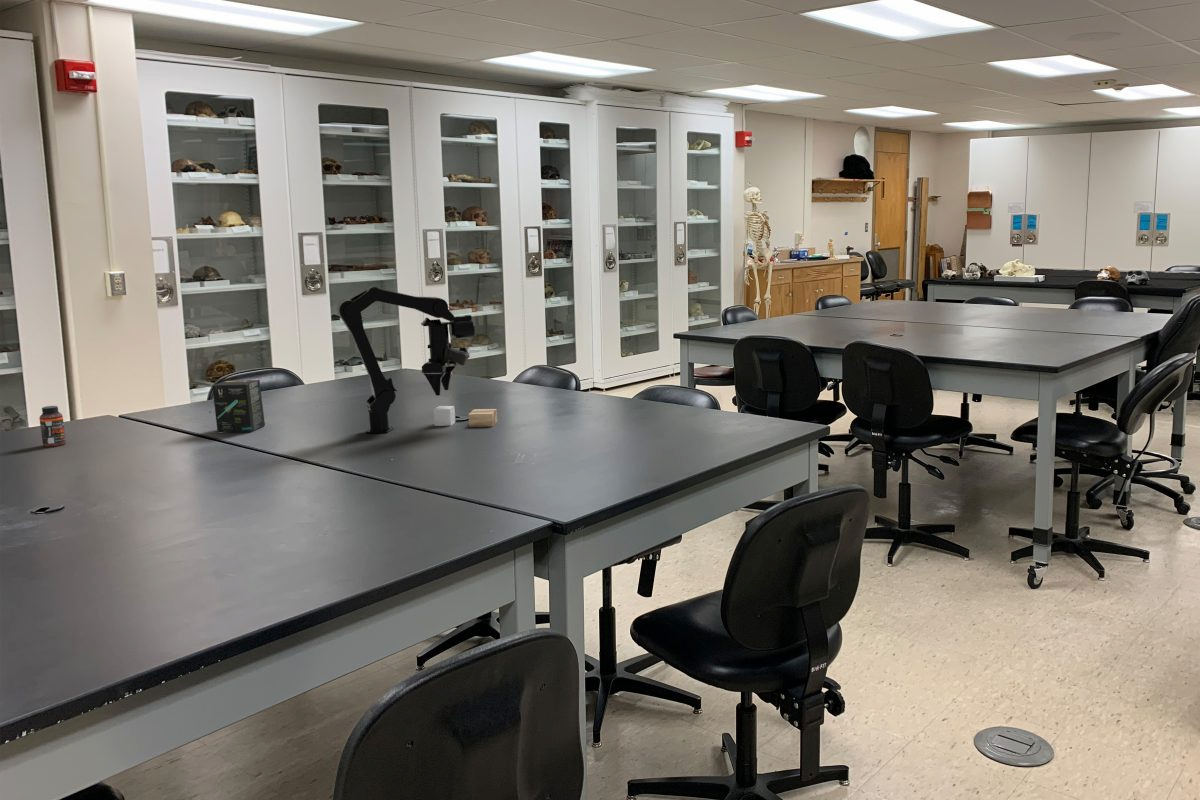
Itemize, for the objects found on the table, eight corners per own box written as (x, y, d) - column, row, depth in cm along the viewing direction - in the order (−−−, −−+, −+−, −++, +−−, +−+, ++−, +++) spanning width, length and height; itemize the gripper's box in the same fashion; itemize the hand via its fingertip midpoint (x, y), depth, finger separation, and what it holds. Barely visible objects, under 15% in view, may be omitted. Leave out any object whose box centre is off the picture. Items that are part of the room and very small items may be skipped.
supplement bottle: (56, 447, 277) (50, 408, 275) (38, 447, 278) (32, 408, 276) (71, 442, 283) (65, 404, 281) (53, 442, 284) (48, 404, 282)
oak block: (493, 427, 283) (492, 413, 282) (469, 427, 284) (468, 414, 283) (497, 422, 290) (496, 408, 289) (474, 422, 290) (473, 409, 290)
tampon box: (265, 426, 296) (260, 378, 294) (252, 432, 287) (246, 384, 285) (231, 426, 298) (226, 379, 295) (216, 433, 289) (211, 384, 286)
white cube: (450, 425, 286) (449, 409, 285) (434, 426, 287) (433, 409, 286) (455, 422, 291) (454, 406, 290) (439, 422, 292) (438, 406, 291)
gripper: (457, 343, 274) (461, 398, 277) (473, 336, 293) (476, 386, 295) (419, 344, 276) (423, 398, 279) (437, 336, 294) (440, 387, 297)
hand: (442, 392), depth 287 cm, fingers open, 9 cm apart
